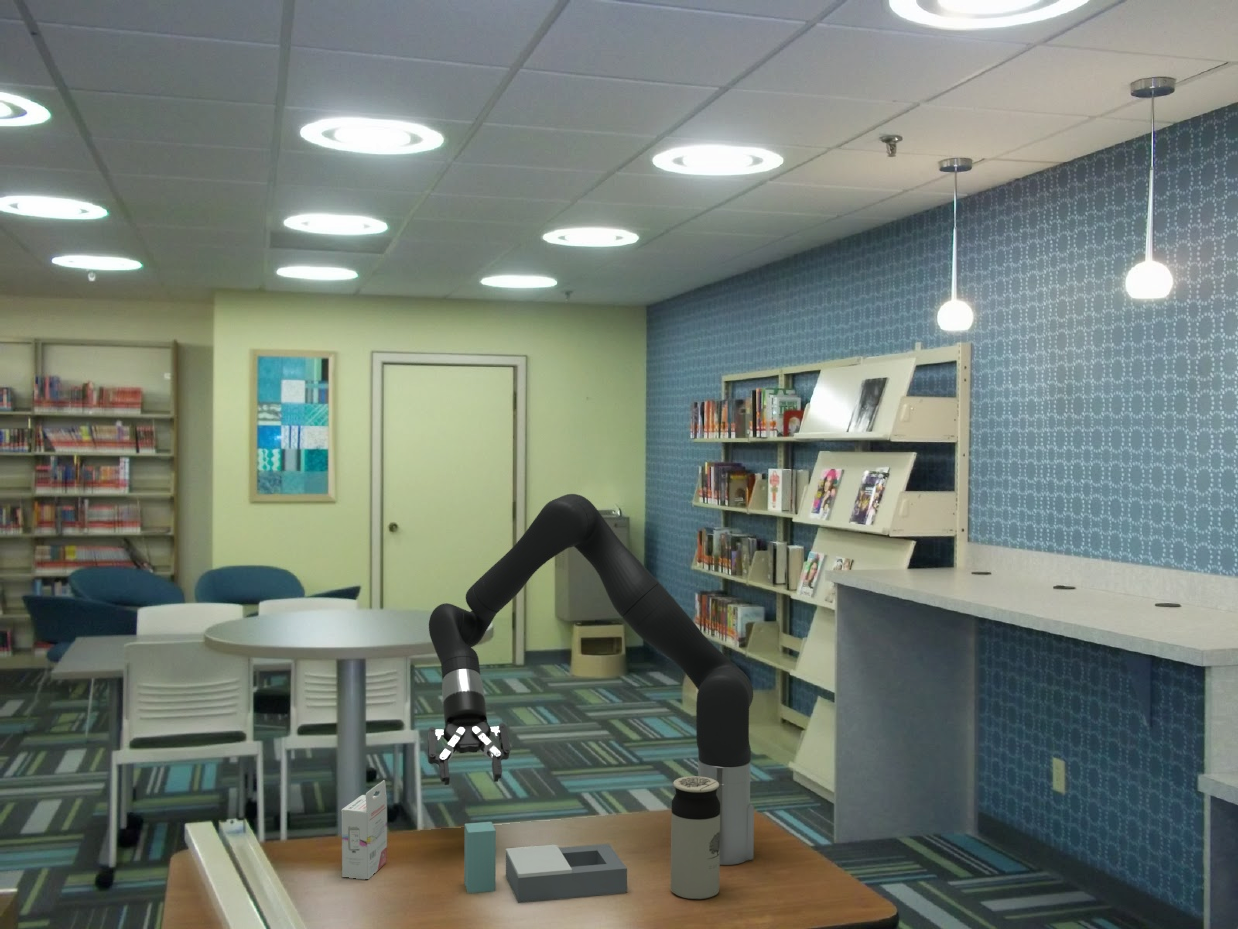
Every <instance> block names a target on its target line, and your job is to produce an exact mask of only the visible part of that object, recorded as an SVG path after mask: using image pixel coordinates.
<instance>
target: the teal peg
mask: <svg viewBox="0 0 1238 929" xmlns="http://www.w3.org/2000/svg"><path fill="white" fill-rule="evenodd" d="M496 837H497V831H496V828H495V825H494V824H493V822H492V821H482V822H471V823H464V847H463V848H464V849H463V850H464V859H463V861H464V864H463V865H464V866H463V868H464V870H463V872H464V873H463V874H464V875H463V881H464V882H463V883H464V884H463V885H464V886H466V887H465V889H466V892H467V894H475V893H489V892H495V891H496V877H497V876H496V867H497V866H496V865H497V862H496V861H497V860H496V858H497V856H496V855H497V854H496V853H497V852H496V851H497V850H496V847H497V846H496V844H497V838H496Z"/></svg>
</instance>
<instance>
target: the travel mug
mask: <svg viewBox="0 0 1238 929" xmlns="http://www.w3.org/2000/svg"><path fill="white" fill-rule="evenodd" d="M672 785H673V786H674V790H675V794H674V797H673V798H672V800H671V812H670V813H671V818H670V819H671V821H670V822H671V827H670V828H671V829H670V831H671V832H670V890H671V892H672V893H673V894H675V895H676V896H678V897H680V898H684V899H687V900H705V899H709V898H712V897H714V896H716V895H718V894H719V892H720V865H719V864H720V801H719V799H718V797H717V795H716V793H717V788H718V787H719V783H718V782H717V781H716V780H714V779H711V778H707V777H698V775H697V776H695V775H694V776H683V777H679V778H676V779H675V780H674V781H673V784H672Z"/></svg>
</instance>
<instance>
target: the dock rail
mask: <svg viewBox="0 0 1238 929" xmlns="http://www.w3.org/2000/svg"><path fill="white" fill-rule="evenodd" d="M505 877H506V879H507V882H508V883H510V884H509V886H510V888H511V890H512V892H513V894H514V897H515V898H516V901H517V903H518V904H519V903H521V904H522V903H530V902H541V901H551V900H561V899H562V900H563V899H571V898H572V899H573V898H583V897H594V896H595V897H596V896H605V895H615V894H617V895H618V894H626V893H628V867H627V866H626V865H625V863H624V862H623V861H622V859H621V858H620V857H619V855H618V854H617V852H616V851H615V850H614V848H613V847H612V846H611V845H610V843H603V844H602V843H601V844H591V845H590V844H589V845H577V846H576V845H575V846H563V847H559V846H558V844H545V845H536V846H535V845H533V846H523V847H521V846H520V847H519V846H518V847H511V848H510V847H508V848H505Z"/></svg>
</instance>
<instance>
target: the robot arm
mask: <svg viewBox="0 0 1238 929" xmlns="http://www.w3.org/2000/svg"><path fill="white" fill-rule="evenodd" d="M573 547H574V548H575V549H576V550H577V551H578V552H579V553H580V554H581V555H582V556H583V557H584V558H585V559H586V560H587V561H588V562H589V564H590V565H592V567H593V569H594V570H595V571H596V572H597V575H598V576H599V578H600V580H601V582H602V585H603V587H604V589H605V591H606V594H607V596H608V599H609V600H610V603H611V604H612V606H613V607H614V609H615V611H616V612H617V613H618V614H619V616H620V617H622V619H623V620H624V621H625V622H626V623H627V625H628V626H629V627H630V628H631V629H632V630H633V631H634V632H635V634H637V635H638V637H640V638H641V639H642V640H643V641H645V643H647V644H648V645H650V646H651V647H652V648H654V649H655V650H656V651H658V652H659V653H661V654H662V655H664V656H665V657H666V658H668V659H669V660H671V661H672V662H674V663H675V664H676V665H677V666H678V667H679V668H680V669H681V670H682V671H683V672H684V673H685V674H686V676H687V677H688V678H689V679H690V681H691V682H692V683H693V685H694V686H695V687H696V689H697V693H696V702H695V703H696V706H695V709H696V710H695V712H696V714H695V715H696V716H695V717H696V719H695V720H696V725H695V726H696V727H695V728H696V730H695V731H696V746H697V749H698V750H697V751H698V760H697V762H698V764H697V765H698V768H697V769H698V770H697V776H698V777H707V778H711V779H714V780H716V781H717V782H718V783H719V787H718V788H717V793H716V795H717V797H718V799H719V801H720V864H719V866H721V865H722V866H725V865H726V866H729V865H739V864H741V863H744V862H747V861H751V860H752V861H753V860H754V843H755V841H754V840H755V836H754V834H755V831H754V829H755V828H754V826H755V824H754V822H755V820H754V819H755V807H754V805H753V804H752V803H751V757H752V756H751V752H752V751H751V749H752V748H751V744H750V733H749V732H750V707H751V705H752V702H753V699H754V687H753V684H752V682H751V681H750V679H749V676H747V674H746V673H745V672H744V671H743V670H742V669H740V667H739V666H737V664H735V663H734V662H733V661H731V660H730V659H729V658H728V657H727V656H726V655H725V654H724V653H723V652H722V651H720V649H718V648H717V647H716V646H715V645H714V644H713V643H712V642H711V641H710V640H709V639H708V638H707V637H706V636H705V634H704V633H703V632H702V631H701V629H700V628H699V627H698V626H697V624H696V623H695V622H694V621H693V619H692V618H691V617H690V616H689V614H688V613H687V612H686V610H684V609H683V608H682V607H681V606H680V604H679V603H678V602H677V601H676V600H675V598H674V597H673V596H672V595H671V594H670V592H668V591H667V589H666V588H665V587H664V585H662V584H661V583H660V581H659V580H658V579H656V577H654V576H653V574H651V572H650V571H649V570H648V569H647V568H646V567H645V566H644V565H643V563H642V562H641V561H640V560H639V559H638V558H637V557H636V555H634V554H633V553H632V552H631V551H630V550H629V549H628V547H626V545H624V543H623V542H622V541H621V540H620V538H619V537H618V536H617V535H616V533H615V532H614V530H613V529H612V528H611V526H610V525H609V524H608V523H607V521H606V520H605V518H604V516H602V514H601V513H600V511H599V509H597V507H596V506H595V505H594V504H593V503H592V501H590V499H588V498H586V497H585V496H583V495H580V494H576V493H569V494H564V495H561V496H560V497H556V498H555V499H552V500H550V501H549V502H547V503H546V504H545V505H544V506H543V508H542V509H541V510H540V511H539V512H538V514H537V516H536V517H535V518H534V519H533V521H532V522H531V524H530V525H529V527H528V528H527V529H526V531H525V532H524V533H523V534H522V536H521V537H520V538H519V539H518V541H517V542H516V543H515V544H514V545H513V547H511V549H509V551H508V552H506V553H505V554H504V555H503V556H502V557H501V558H500V559H499V560H498V561H497V562H495V564H494V565H492V566H491V567H490V568H489V569H488V570H487V571H486V572H485V573H484V574H482V576H481V577H479V579H477V580H476V581H475V582H474V583H473V584H472V585H471V586H470V587H469V588H468V590H467V591H466V593H465V602H466V604H467V607H468V608H469V609H470V610H471V611H469V610H466V609H464V608H462V607H459V606H457V605H455V604H453V603H452V604H451V603H445V602H444V603H441V604H439V605H437V606H435V608H434V609H433V611H432V612H431V614H430V616H429V621H428V632H429V636H430V639H431V642H432V646H433V648H434V650H435V653H436V656H437V658H438V660H439V662H440V667H441V679H442V688H441V691H442V692H441V693H442V698H441V702H442V706H443V708H442V709H443V719H444V729H436V727H435V726H430V727H429V728H428V733H427V762H428V764H430V765H431V764H432V765H433V764H434V765H435V764H436V765H437V766H438V769H439V778H440V779H439V780H440V781H441V783H444V786H449V784H450V780H451V778H450V768H449V767H450V766H449V761H450V760H451V759H452V757H453V756H454V755H455V754H456V752H458V753H459V754H466V753H478V752H480V753H481V754H483V755H484V756H485V757H488V759H489V760H490V761H491V770H492V778H493V783H498V782H499V779H501V778H502V776H503V765H502V761H503V760H508V759H509V758H510V753H511V746H510V741H509V734H508V730H507V725H506V723H504V722H501V723H499V725H497V726H490V724H489V723H488V716H487V707H486V699H485V691H484V690H485V689H484V684H483V682H482V677H481V676H482V675H481V671H480V670H481V669H480V660H479V655H478V653H477V651H476V650H475V649H474V648H473V647H475V646H476V645H478V644H479V643H480V642H481V641H482V639H483V637H484V636H485V634H486V632H487V630H488V628H489V627H490V625H491V623H492V622H493V620H494V619H495V617H496V616H497V614H498V613H499V612H500V611H502V609H504V607H505V606H507V605H508V603H510V601H512V600H513V599H514V598H515V597H516V596H517V595H518V594H519V593H520V592H521V590H522V589H523V588H524V586H526V584H527V583H528V581H529V580H530V579H531V578H532V576H533V575H534V574H535V573H536V572H537V571H538V570H539V569H540V568H541V567H542V566H543V565H545V564H546V563H548V562H549V561H550V560H551V559H553V558H554V557H556V556H558V555H559V554H560V553H562V552H564V551H565V550H567V549H569V548H573ZM491 735H493V737H494V738H495V739H496V740H498V743H499V748H500V750H499V749H498V747H496V745H495V744H494V742H493V741H492V740H491V739H490V736H491ZM441 738H443V739H444V740H445V741H446V743H447V744H446V745H445V748H444V749H443V751H442V752H441V753H437V743H439V742H440V741H441V740H440V739H441Z"/></svg>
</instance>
